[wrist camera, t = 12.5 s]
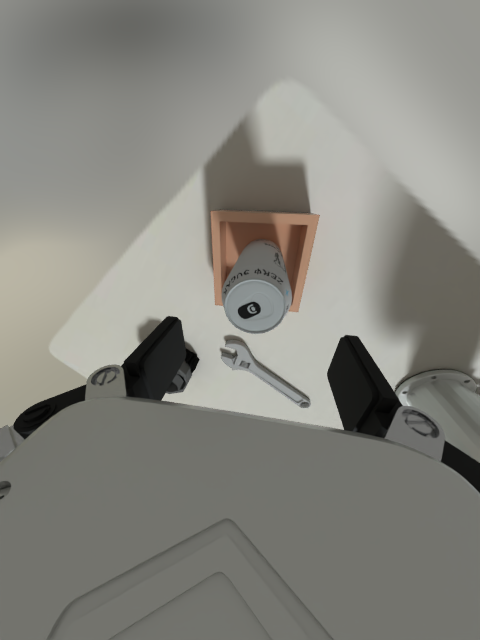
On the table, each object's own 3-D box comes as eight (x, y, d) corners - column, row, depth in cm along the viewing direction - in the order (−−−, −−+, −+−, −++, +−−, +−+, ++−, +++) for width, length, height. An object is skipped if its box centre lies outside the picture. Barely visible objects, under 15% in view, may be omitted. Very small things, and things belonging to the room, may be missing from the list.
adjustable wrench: (312, 399, 44) (313, 406, 43) (290, 408, 47) (290, 415, 46) (235, 334, 37) (234, 340, 35) (215, 350, 40) (213, 356, 38)
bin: (310, 212, 24) (319, 215, 20) (294, 297, 31) (298, 312, 26) (220, 209, 25) (210, 211, 21) (222, 291, 32) (215, 305, 28)
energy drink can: (289, 269, 27) (305, 324, 15) (252, 286, 30) (240, 347, 17) (271, 229, 25) (274, 255, 12) (233, 251, 27) (202, 292, 14)
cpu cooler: (176, 400, 41) (132, 379, 39) (185, 380, 46) (147, 360, 44) (196, 376, 36) (147, 350, 34) (204, 355, 41) (162, 332, 39)
